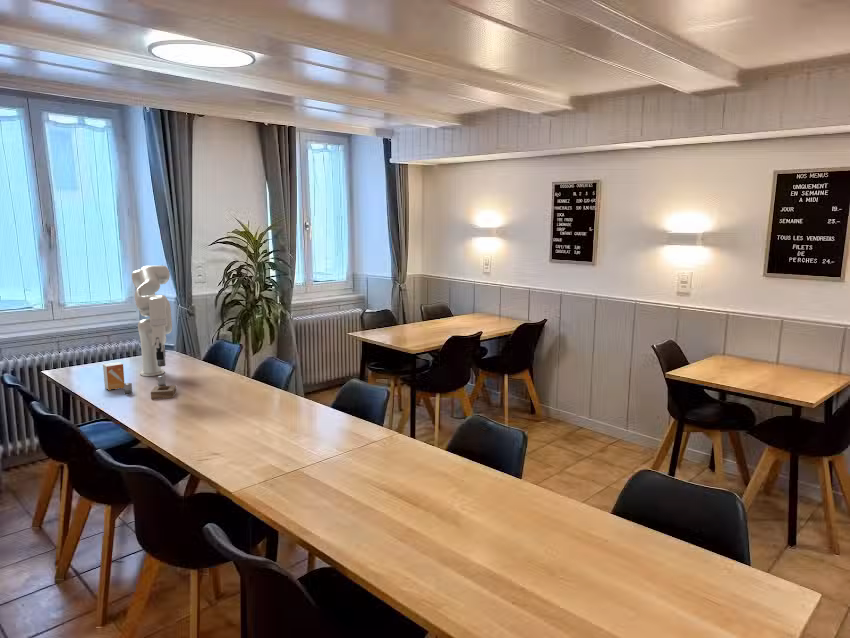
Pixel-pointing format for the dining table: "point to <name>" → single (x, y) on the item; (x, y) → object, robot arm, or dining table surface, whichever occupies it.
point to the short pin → (128, 388)
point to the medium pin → (161, 381)
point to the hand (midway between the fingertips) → (161, 358)
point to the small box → (113, 375)
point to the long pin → (162, 362)
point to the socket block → (163, 392)
